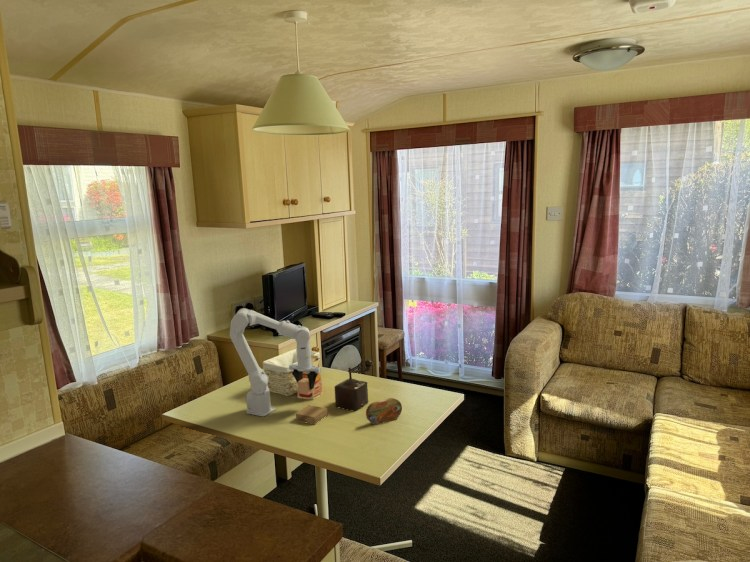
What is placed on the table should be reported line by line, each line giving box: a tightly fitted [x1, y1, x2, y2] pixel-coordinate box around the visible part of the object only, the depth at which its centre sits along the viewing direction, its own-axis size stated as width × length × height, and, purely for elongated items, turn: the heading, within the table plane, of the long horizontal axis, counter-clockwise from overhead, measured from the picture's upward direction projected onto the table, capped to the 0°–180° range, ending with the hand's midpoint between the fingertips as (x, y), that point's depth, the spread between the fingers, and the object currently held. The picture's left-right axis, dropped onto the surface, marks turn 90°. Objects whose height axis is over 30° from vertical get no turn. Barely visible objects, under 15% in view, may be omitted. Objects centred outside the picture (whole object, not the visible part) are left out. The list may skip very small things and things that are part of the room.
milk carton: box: [297, 355, 323, 400], centre depth 230 cm, size 9×9×20 cm
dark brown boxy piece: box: [334, 359, 374, 412], centre depth 219 cm, size 16×11×18 cm
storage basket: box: [262, 348, 321, 397], centre depth 242 cm, size 24×16×15 cm
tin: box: [365, 397, 403, 425], centre depth 202 cm, size 15×3×8 cm, turn 117°
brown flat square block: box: [295, 404, 328, 425], centre depth 207 cm, size 9×9×3 cm
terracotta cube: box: [297, 378, 315, 395], centre depth 215 cm, size 5×5×5 cm
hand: (306, 387), depth 216 cm, fingers closed on terracotta cube, 5 cm apart
